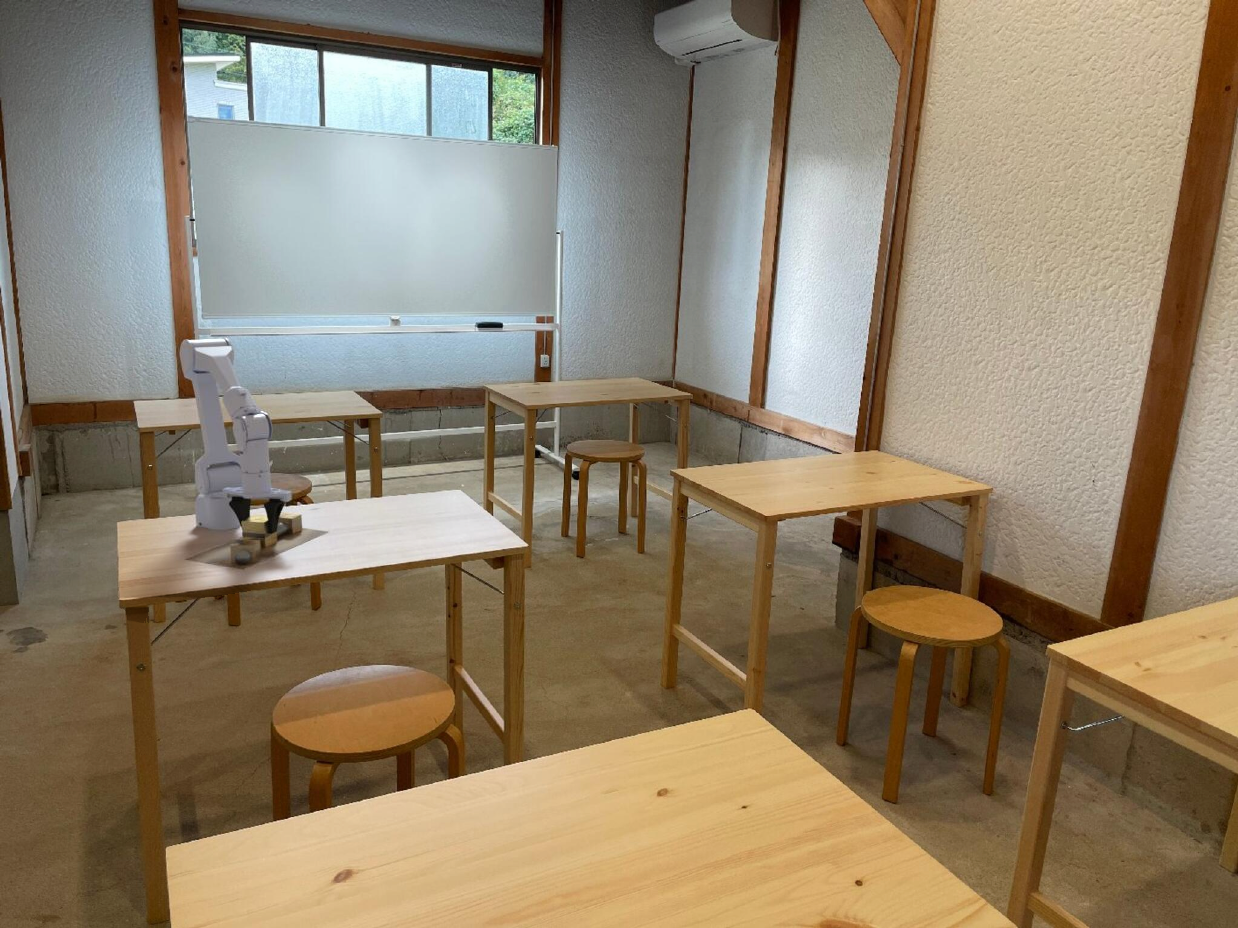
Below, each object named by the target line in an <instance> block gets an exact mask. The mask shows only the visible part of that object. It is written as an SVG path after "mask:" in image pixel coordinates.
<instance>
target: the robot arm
mask: <svg viewBox="0 0 1238 928" xmlns="http://www.w3.org/2000/svg"><path fill="white" fill-rule="evenodd" d="M179 348H180V349H179V359H180V363H181V364H180V365H181V370H182V373H183V377H184V378H185V379H188V380H189V381H191V383H192V387H193V392H194V396H195V403H196V408H197V414H198V419H199V425H200V430H201V435H202V440H203V446H204V451H205V452H204V454H202V455H201V456H200V458H198V459H197V460H196V461H195V463H194V474H195V475H194V484H195V487H196V489H197V491H198V492H199V494H198V496H197V497H196V498H195V501H194V511H195V512H194V513H195V523H196V524H195V525H196V527H200V528H205V529H209V530H212V531H228V530H233V529H236V528H240V527H241V529H242V521H243V520H245V519H246V518H248V517H250V516H251V504H252V500H263V501H267V502H265V503H263V507H264V510H265V513H266V514H265V515H267V518H268V530H269V534H273V533H275V532H276V531H277V526H278V521H279V517H280V514H281V513H282V512H283V509H284V508H285V504H286V503H288V502H290V501H292V500H293V496H292V495H293V494H292V490H285V489H284V490H283V489H279V488H275V487H272V483H271V482H272V480H271V467H270V452H269V449H270V448H269V440H270V439H272V437H273V423H272V419H271V418H270V416H269V414H268V413H267V412H264V410H263V409H259V407H258V406H257V404H256V402H255V399H254V398H253V396H252V395H251V393H250V391H249V389H248V388H246V387H242V386H241V384H240V381H239V379H238V376H237V373H236V371H235V369H234V359H235V351H234V346H233V344H232V342H231V341H230V340H229V338H227V337H222V338H207V339H206V338H205V339H190V340H189V339H183V341H182V342H181V344H180V347H179ZM218 387H219V388H220V389H221V390H222V393H224V394H223V396H222V403H223V406H224V407H225V409H226V411H227V413H228V415H229V416H230V419H231V421H232V432H233V433H232V434H233V436H234V439H235V444H236V445H235V446H236V450H238V451H239V454H236V453H235V452H233V451H231V450H230V449H229V445H228V444H229V443H228V438H227V434H226V433H227V431H226V428H225V422H224V417H223V412H222V411H223V410H222V406H221V401H220V395H219V390H218ZM220 464H222V465H220ZM211 465H215V466H211Z"/></svg>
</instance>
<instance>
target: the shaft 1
mask: <svg viewBox="0 0 1238 928" xmlns="http://www.w3.org/2000/svg"><path fill="white" fill-rule="evenodd" d="M234 540H235V539H234ZM261 546H262V544H261V541H260V540H259V539H256V538H252V539H250V540H235V541H234V542H233V543H232V544H231V545H230V550H231V563H237V564H238V565H245V564H247V563H257V561H258V560H259V559H260V558H261Z"/></svg>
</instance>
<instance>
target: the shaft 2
mask: <svg viewBox="0 0 1238 928" xmlns="http://www.w3.org/2000/svg"><path fill="white" fill-rule="evenodd" d="M302 517H303V516H302V514H301V513H293V512H283V511H282V512H281V514H280V517H279V521H278V526H277V538H278V537H280V536H282V535H284V534H290V535H294V534H296V533H298V532H300V531H302V528H303V520H302Z"/></svg>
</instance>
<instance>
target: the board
mask: <svg viewBox="0 0 1238 928" xmlns="http://www.w3.org/2000/svg"><path fill="white" fill-rule="evenodd" d="M327 533H329V531H326V530H319V529H313V528H305V527H302V531H300V532H298V533H296V534H294V535H290V534H284V535H282V536H280V537H278V538H277V543H275V544H274V545H272V546H270V547H269V548H267V549H261V558H260V559H259V560H258V561H257V563H247V564H245V565H238V564H237V563H231V550H230V545H231V544H232V543H233V542H234V541H235V540H243V537H242V536H240V537H239V538H235V539H233V540H230V541H227V542H225V543H223V544H220V545H217V546H215V547H213V548H210V549H208V550H204V551H202V552H200V553H197V554H194V555H192V556H189V557H187V558H185V559H184V560H186V561H190V562H191V561H192V562H197V563H203V564H209V565H216V566H220V567H227V568H231V569H237V570H238V569H239V570H247V569H249V568H251V567H254V566H256V565H258V564H260V563H262V562H264V561H267V560H269V559H271V558H274V557H275V556H278V555H280V554H283V553H284V552H286V551H287V552H288V551H289V550H291V549H295V548H296V547H298V546H300V545H303V544H305V543H307V542H309V541H313V540H314V539H317V538H319V537H321V536H323V535H325V534H326V535H327Z"/></svg>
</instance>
